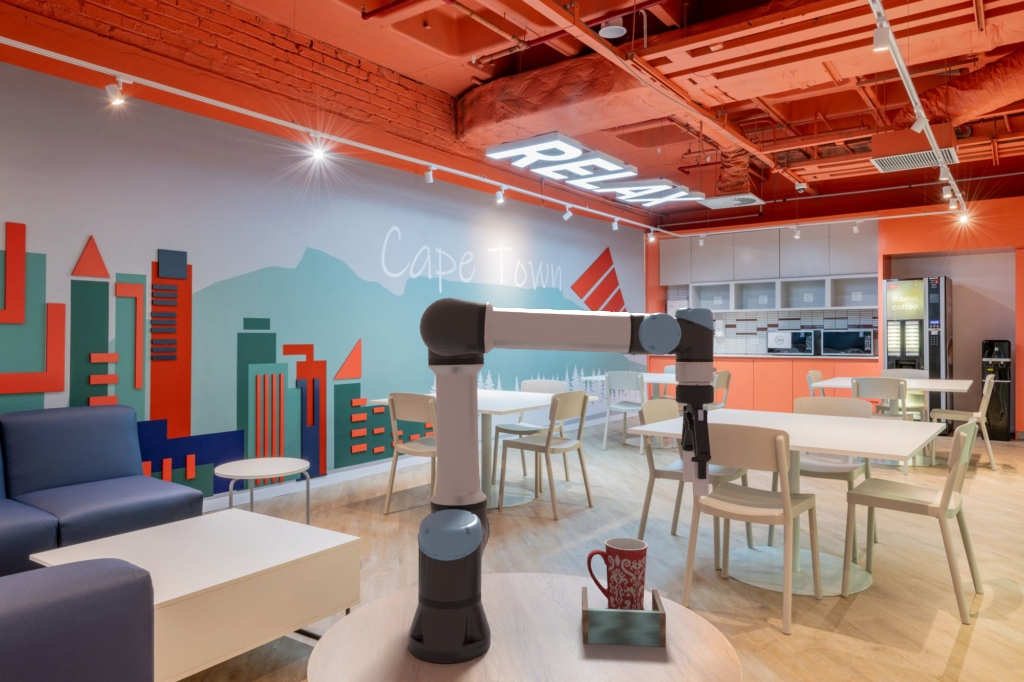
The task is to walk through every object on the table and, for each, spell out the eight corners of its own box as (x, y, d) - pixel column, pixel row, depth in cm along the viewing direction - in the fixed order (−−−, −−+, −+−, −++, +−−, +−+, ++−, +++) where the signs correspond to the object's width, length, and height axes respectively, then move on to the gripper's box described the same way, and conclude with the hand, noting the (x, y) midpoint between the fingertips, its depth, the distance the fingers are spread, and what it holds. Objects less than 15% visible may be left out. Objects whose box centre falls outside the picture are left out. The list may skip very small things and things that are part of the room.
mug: (645, 600, 139) (645, 537, 139) (650, 617, 130) (650, 550, 130) (586, 598, 140) (586, 535, 140) (587, 614, 131) (587, 548, 131)
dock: (582, 643, 118) (582, 610, 118) (581, 616, 130) (581, 586, 130) (665, 646, 117) (665, 613, 117) (657, 619, 129) (657, 589, 129)
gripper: (727, 386, 118) (727, 502, 118) (702, 381, 143) (702, 477, 143) (685, 386, 119) (685, 501, 119) (668, 381, 144) (668, 476, 144)
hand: (695, 488), depth 131 cm, fingers open, 13 cm apart
